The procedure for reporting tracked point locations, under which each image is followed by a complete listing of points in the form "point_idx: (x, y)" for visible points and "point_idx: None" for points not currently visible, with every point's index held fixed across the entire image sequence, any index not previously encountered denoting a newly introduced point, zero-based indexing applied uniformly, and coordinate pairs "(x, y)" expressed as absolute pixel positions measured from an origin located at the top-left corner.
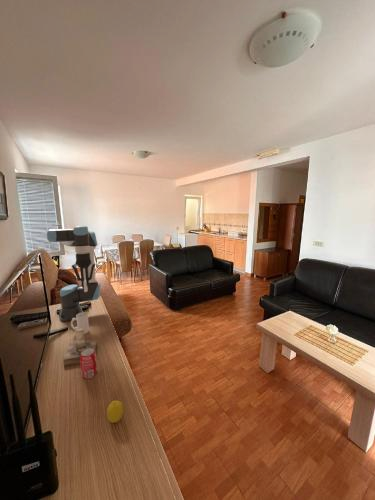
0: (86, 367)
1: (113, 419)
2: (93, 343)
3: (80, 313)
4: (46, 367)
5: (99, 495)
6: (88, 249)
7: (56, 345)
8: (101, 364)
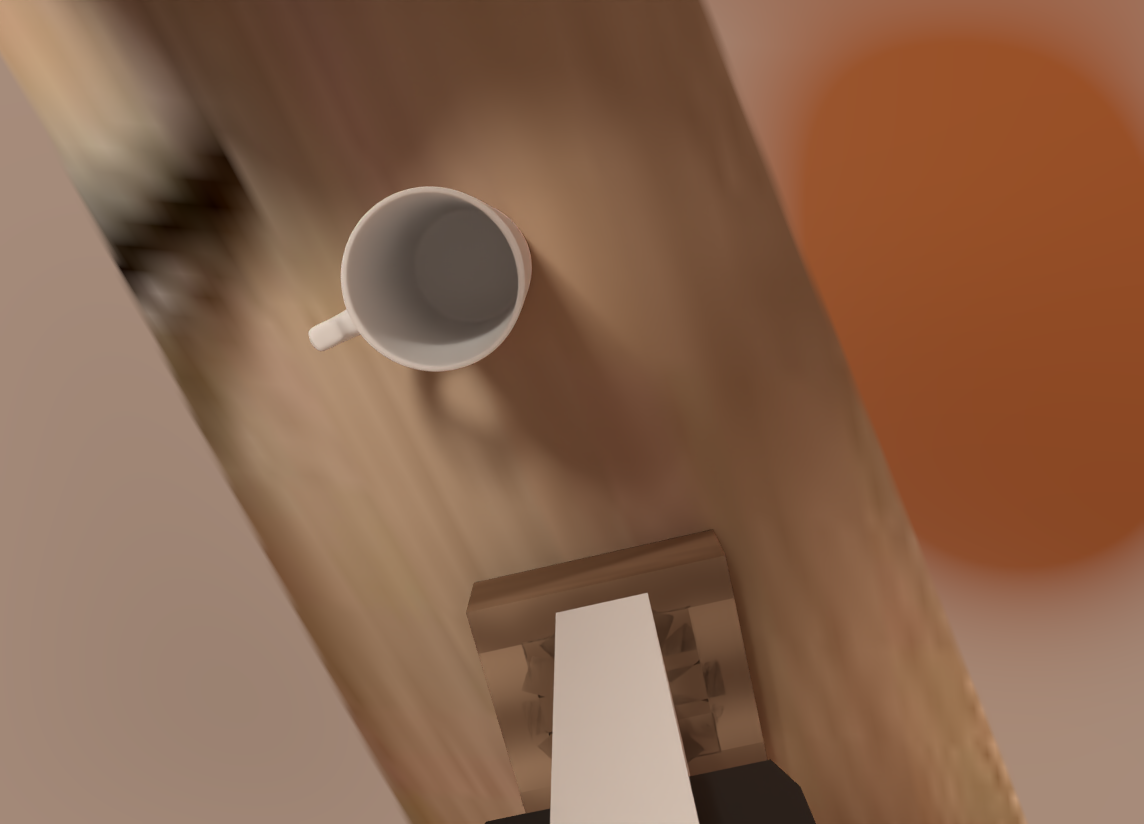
0: None
1: None
2: (719, 629)
3: (378, 214)
4: (401, 788)
5: None
6: None
7: (303, 511)
8: (830, 788)
